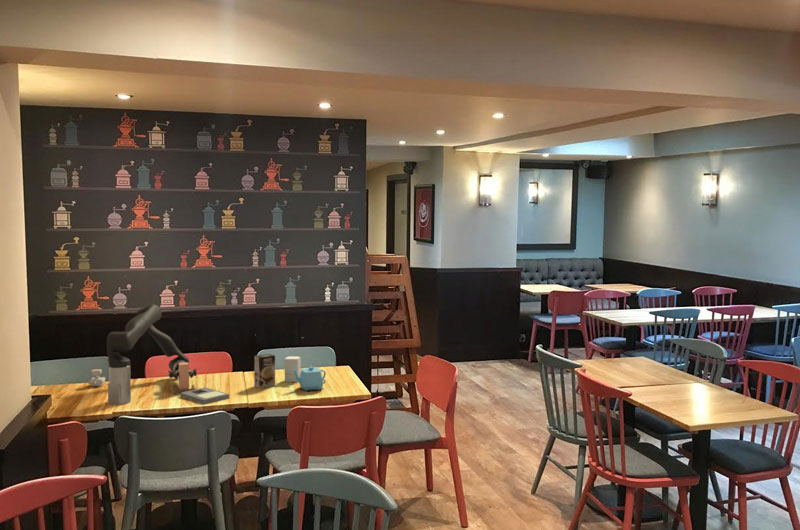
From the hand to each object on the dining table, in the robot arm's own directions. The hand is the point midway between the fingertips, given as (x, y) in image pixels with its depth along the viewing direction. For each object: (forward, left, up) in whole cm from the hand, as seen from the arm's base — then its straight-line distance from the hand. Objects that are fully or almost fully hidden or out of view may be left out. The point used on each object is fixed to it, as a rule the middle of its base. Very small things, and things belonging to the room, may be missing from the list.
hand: (184, 376), depth 323 cm
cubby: (+2, +1, -8) cm, 8 cm away
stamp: (-1, +50, -8) cm, 51 cm away
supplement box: (+38, -42, -8) cm, 57 cm away
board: (-6, -15, -8) cm, 18 cm away
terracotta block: (+2, +1, -8) cm, 8 cm away
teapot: (+24, -57, -8) cm, 62 cm away
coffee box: (+23, -33, -8) cm, 41 cm away
